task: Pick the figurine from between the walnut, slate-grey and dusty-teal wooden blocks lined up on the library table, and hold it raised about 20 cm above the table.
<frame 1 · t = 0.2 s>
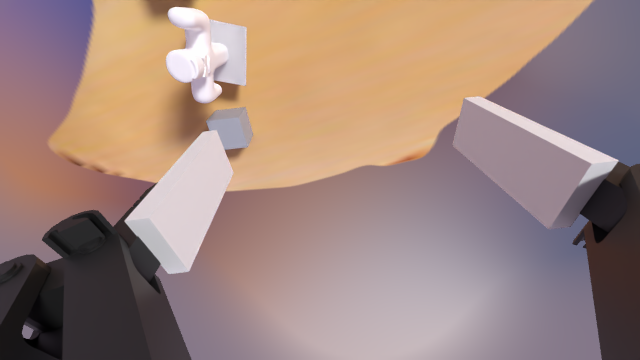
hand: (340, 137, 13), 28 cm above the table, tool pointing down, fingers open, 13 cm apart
slate-grey block: (235, 122, 41), on the table
figurine: (226, 49, 34), on the table
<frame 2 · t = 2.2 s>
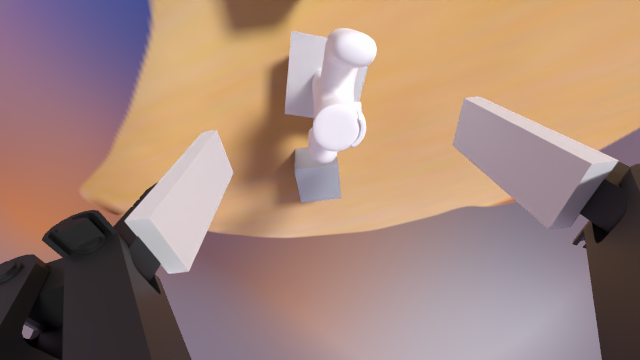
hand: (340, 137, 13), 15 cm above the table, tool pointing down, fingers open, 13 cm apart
slate-grey block: (316, 162, 32), on the table
figurine: (323, 74, 25), on the table
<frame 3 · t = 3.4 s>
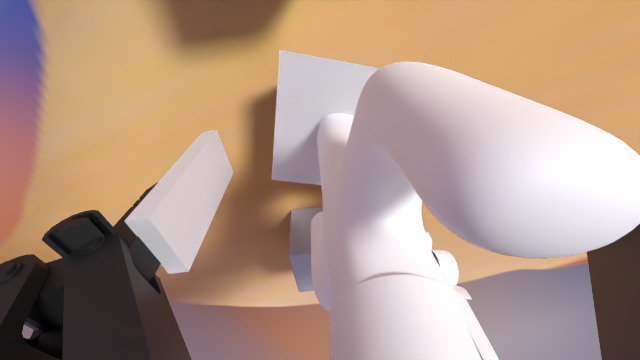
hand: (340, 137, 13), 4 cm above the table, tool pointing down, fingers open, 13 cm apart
slate-grey block: (321, 225, 23), on the table
figurine: (333, 111, 16), on the table
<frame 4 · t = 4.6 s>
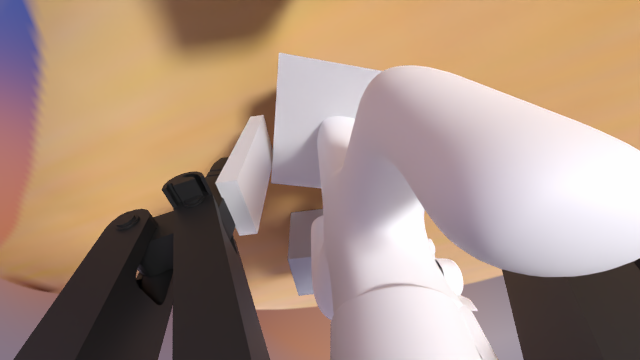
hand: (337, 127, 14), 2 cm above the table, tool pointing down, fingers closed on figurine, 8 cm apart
slate-grey block: (321, 228, 22), on the table
figurine: (333, 113, 16), on the table, touching gripper
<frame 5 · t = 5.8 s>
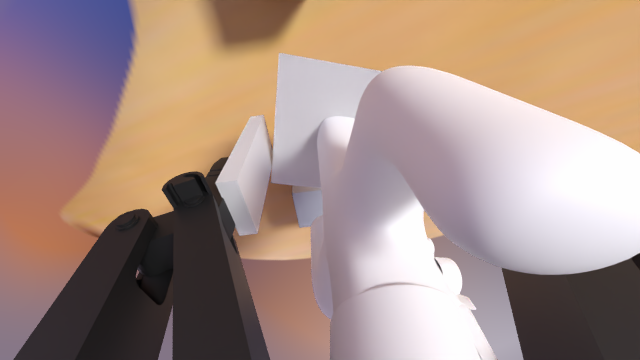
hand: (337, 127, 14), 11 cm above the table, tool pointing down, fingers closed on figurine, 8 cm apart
slate-grey block: (316, 182, 30), on the table
figurine: (333, 113, 16), point 8 cm above the table, touching gripper
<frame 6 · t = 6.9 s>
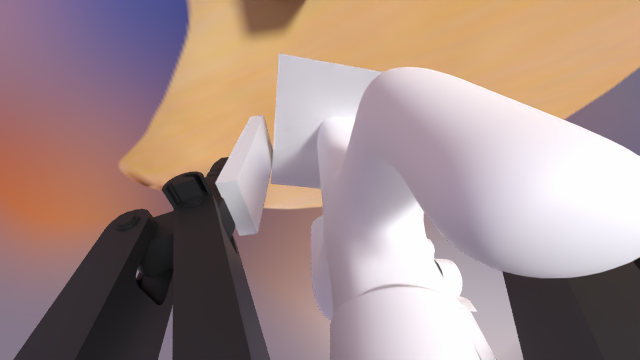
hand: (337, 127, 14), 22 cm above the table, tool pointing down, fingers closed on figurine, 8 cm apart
figurine: (333, 114, 16), point 20 cm above the table, touching gripper
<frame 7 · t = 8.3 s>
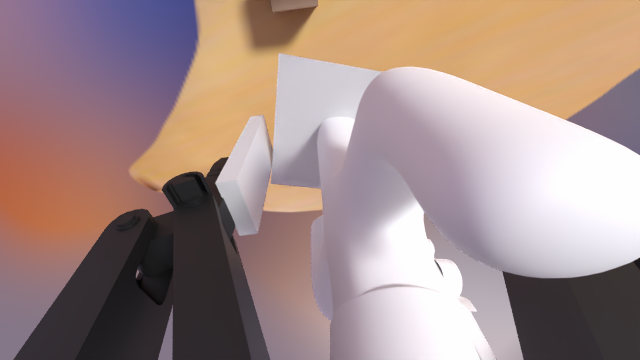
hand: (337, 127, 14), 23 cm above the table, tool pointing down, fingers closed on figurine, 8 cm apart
figurine: (333, 114, 16), point 21 cm above the table, touching gripper
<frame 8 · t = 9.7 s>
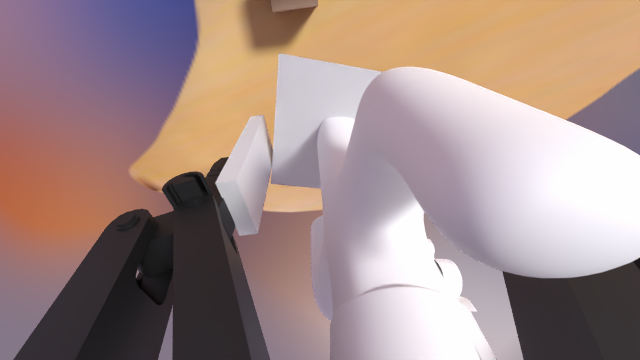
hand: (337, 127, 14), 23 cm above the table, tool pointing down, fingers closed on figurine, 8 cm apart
figurine: (333, 114, 16), point 21 cm above the table, touching gripper
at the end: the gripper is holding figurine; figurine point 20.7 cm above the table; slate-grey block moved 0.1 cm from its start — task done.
